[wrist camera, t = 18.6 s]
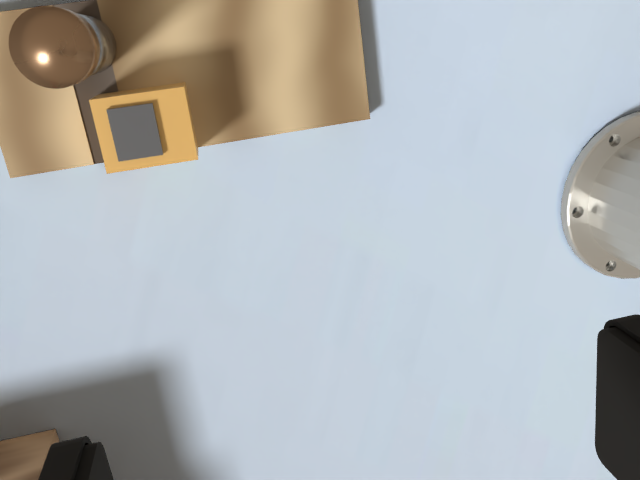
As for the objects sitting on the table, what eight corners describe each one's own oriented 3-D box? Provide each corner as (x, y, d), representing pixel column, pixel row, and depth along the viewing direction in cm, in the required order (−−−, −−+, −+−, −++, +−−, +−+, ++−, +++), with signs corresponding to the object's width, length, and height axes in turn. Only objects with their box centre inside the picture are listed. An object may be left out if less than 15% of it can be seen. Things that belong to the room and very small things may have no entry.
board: (349, -33, 37) (354, -35, 36) (365, 116, 40) (370, 118, 39) (-32, 17, 34) (-40, 16, 33) (16, 173, 37) (10, 178, 36)
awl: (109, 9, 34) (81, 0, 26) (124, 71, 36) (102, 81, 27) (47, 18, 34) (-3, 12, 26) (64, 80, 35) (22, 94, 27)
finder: (185, 82, 36) (184, 87, 33) (198, 148, 38) (198, 160, 34) (99, 94, 36) (88, 100, 32) (114, 161, 37) (106, 174, 33)
